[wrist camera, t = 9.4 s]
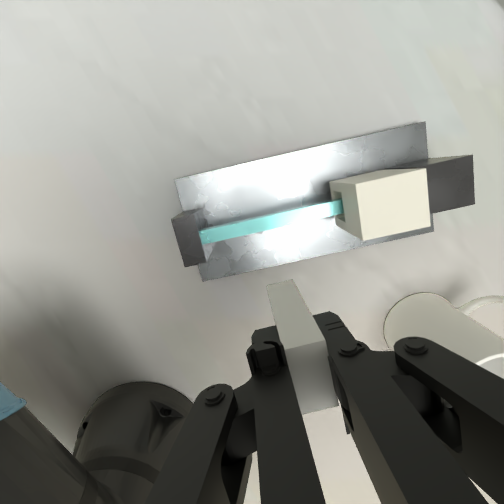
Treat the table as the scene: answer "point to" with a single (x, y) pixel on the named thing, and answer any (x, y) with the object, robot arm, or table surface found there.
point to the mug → (447, 328)
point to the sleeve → (382, 202)
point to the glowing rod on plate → (301, 201)
